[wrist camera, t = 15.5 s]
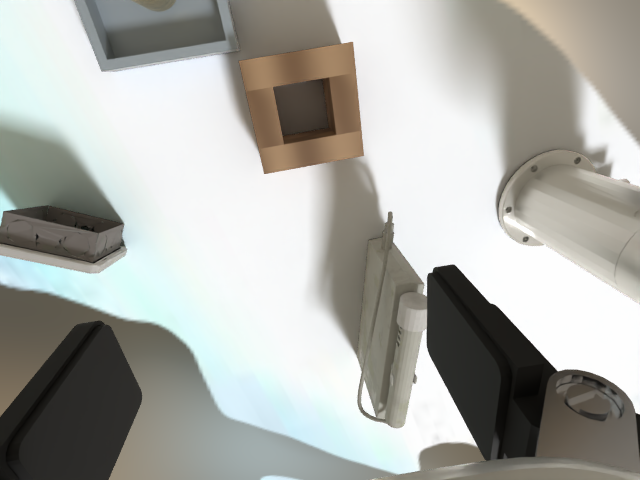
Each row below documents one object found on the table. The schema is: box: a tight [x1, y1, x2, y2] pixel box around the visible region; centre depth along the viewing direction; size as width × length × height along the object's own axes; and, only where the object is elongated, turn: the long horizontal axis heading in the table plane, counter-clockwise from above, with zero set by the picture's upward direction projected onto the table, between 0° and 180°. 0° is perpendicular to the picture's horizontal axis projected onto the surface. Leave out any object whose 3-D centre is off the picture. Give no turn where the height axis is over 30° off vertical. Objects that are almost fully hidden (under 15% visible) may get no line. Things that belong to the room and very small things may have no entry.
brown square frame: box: [239, 42, 364, 174], centre depth 35 cm, size 10×10×5 cm
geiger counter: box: [357, 212, 427, 428], centre depth 42 cm, size 14×6×25 cm
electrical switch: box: [0, 206, 127, 273], centre depth 36 cm, size 9×5×9 cm, turn 70°
